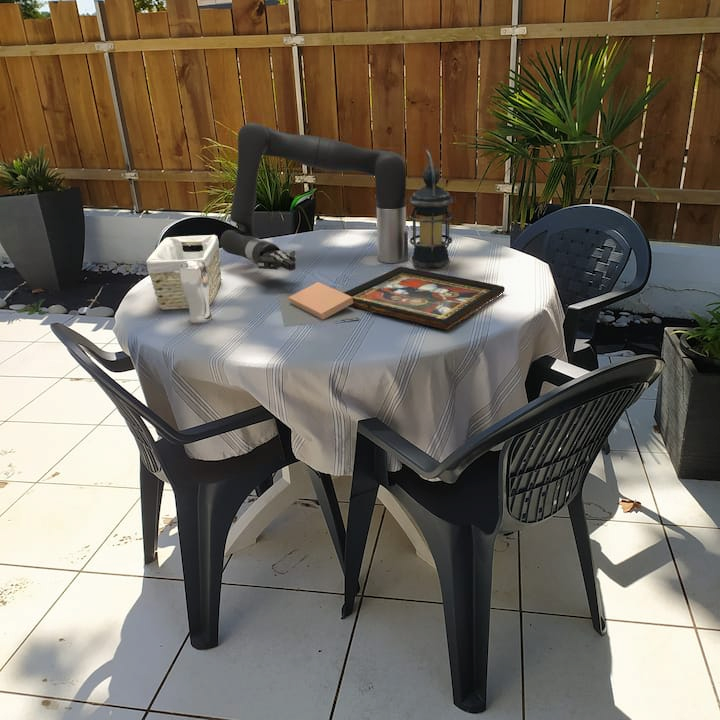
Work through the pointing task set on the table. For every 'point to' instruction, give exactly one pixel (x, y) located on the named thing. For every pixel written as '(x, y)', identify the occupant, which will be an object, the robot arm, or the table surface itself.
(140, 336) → the table surface
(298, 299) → the tile
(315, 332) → the table surface
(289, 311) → the mat
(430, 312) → the religious icon
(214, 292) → the storage basket
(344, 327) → the table surface
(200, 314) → the beer glass
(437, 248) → the lantern
